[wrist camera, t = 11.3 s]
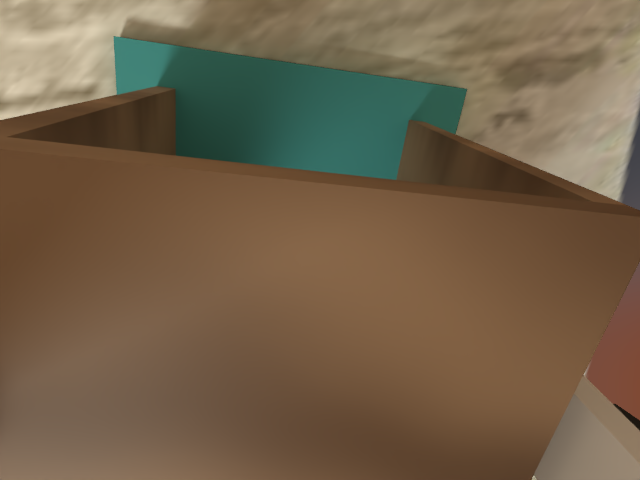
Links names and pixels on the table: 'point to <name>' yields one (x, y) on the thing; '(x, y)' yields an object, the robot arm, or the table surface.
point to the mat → (285, 109)
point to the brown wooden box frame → (288, 306)
